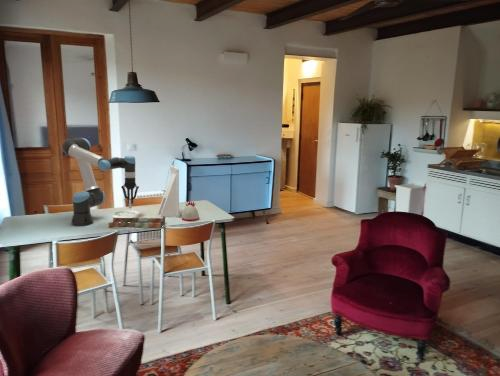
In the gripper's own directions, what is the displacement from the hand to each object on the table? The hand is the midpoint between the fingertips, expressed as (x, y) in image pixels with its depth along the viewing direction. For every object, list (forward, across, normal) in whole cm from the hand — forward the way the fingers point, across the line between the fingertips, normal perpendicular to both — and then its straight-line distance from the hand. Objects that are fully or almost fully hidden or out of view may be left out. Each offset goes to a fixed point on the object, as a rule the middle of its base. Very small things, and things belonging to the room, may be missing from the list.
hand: (130, 207), depth 305 cm
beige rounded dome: (+13, +44, +18) cm, 49 cm away
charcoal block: (+13, +10, 0) cm, 16 cm away
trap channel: (+13, +5, 0) cm, 14 cm away
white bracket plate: (+13, +24, +29) cm, 39 cm away
